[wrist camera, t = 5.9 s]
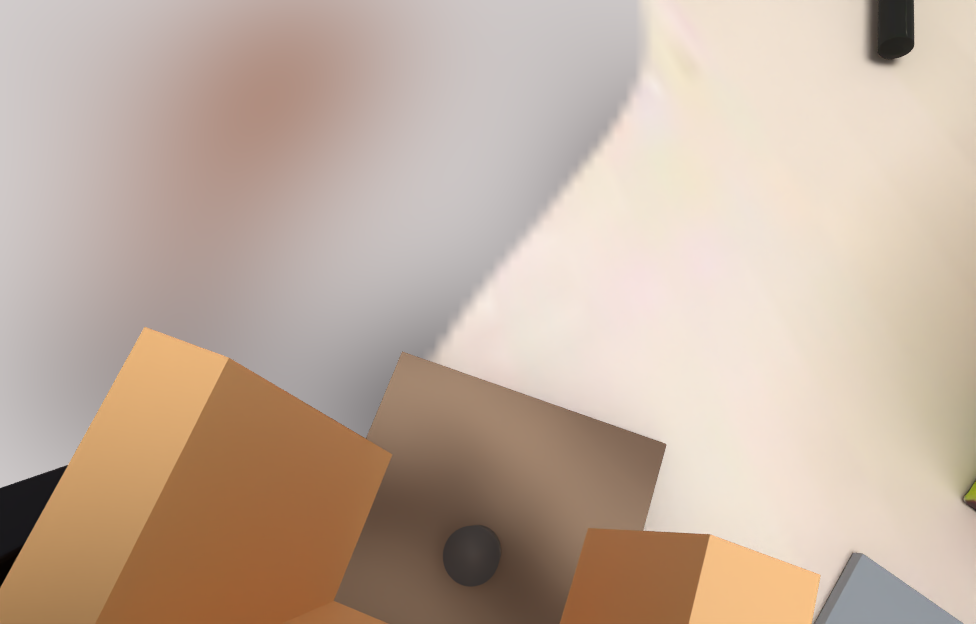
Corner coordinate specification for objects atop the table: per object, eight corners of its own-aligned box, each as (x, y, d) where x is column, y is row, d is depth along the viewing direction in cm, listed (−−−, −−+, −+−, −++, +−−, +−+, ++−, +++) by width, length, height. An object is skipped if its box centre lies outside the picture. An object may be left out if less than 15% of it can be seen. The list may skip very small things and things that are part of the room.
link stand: (558, 824, 19) (570, 902, 15) (264, 693, 20) (207, 734, 17) (662, 446, 22) (694, 430, 19) (404, 355, 24) (384, 323, 20)
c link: (570, 756, 13) (697, 1239, 4) (275, 629, 14) (-123, 808, 5) (629, 543, 15) (821, 575, 6) (355, 440, 16) (144, 326, 7)
